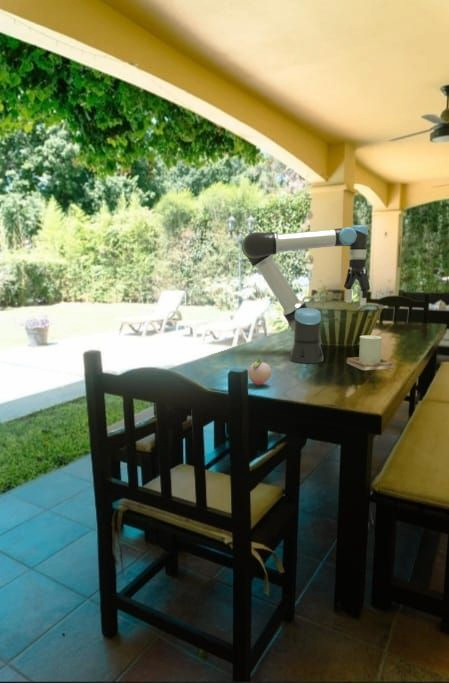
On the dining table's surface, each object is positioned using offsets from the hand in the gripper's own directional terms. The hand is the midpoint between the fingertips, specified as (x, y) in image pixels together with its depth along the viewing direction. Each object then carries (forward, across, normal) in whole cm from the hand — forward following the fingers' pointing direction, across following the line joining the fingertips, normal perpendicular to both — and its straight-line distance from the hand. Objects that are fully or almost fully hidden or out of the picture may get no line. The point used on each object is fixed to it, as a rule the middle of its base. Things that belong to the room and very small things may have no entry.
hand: (355, 303), depth 219 cm
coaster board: (+25, +25, -6) cm, 36 cm away
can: (+24, +25, -6) cm, 35 cm away
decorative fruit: (+25, +45, -62) cm, 81 cm away
